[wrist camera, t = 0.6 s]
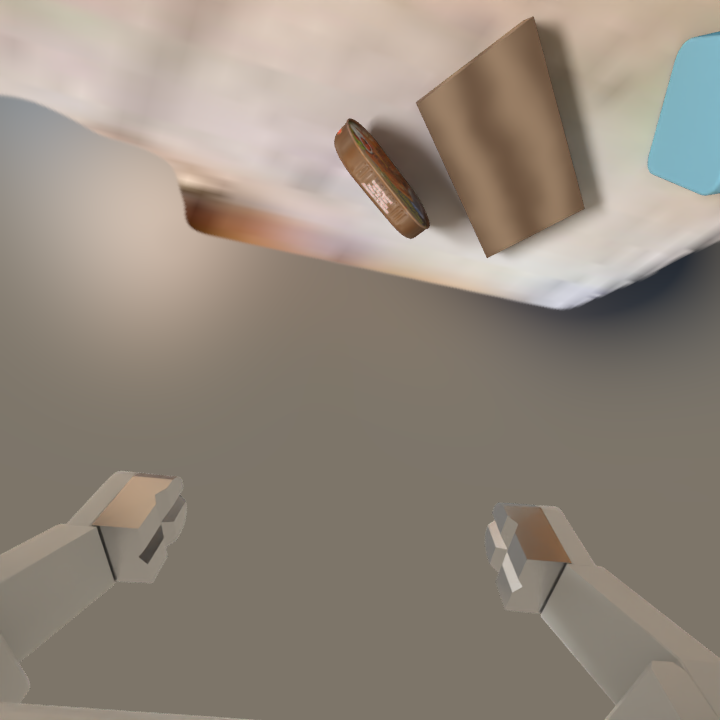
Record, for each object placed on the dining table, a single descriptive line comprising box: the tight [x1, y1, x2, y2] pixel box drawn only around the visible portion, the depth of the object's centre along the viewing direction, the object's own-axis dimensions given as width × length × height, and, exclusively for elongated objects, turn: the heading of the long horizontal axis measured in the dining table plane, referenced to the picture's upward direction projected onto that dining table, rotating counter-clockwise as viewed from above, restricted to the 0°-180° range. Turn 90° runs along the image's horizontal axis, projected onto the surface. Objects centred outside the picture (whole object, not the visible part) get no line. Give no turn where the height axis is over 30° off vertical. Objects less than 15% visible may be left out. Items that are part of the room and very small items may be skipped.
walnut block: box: [416, 16, 585, 258], centre depth 41 cm, size 12×20×4 cm, turn 33°
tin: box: [334, 119, 430, 239], centre depth 42 cm, size 15×3×8 cm, turn 42°
